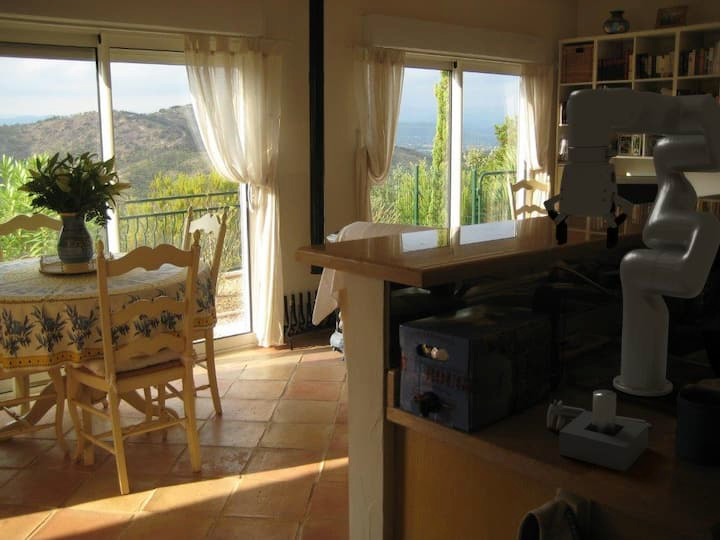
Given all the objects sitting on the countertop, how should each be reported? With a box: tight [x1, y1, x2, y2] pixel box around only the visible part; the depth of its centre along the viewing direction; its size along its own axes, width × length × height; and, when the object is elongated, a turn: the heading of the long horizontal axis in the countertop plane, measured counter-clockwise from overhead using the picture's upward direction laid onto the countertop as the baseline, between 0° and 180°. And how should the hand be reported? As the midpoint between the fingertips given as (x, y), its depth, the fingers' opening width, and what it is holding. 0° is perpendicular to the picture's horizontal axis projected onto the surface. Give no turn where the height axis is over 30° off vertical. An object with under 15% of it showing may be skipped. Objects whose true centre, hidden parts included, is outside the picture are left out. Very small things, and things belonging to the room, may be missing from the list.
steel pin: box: [592, 389, 617, 436], centre depth 132 cm, size 4×4×10 cm
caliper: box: [546, 399, 653, 431], centre depth 142 cm, size 20×1×6 cm, turn 90°
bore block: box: [558, 409, 650, 473], centre depth 132 cm, size 12×12×4 cm
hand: (586, 245), depth 140 cm, fingers open, 9 cm apart
